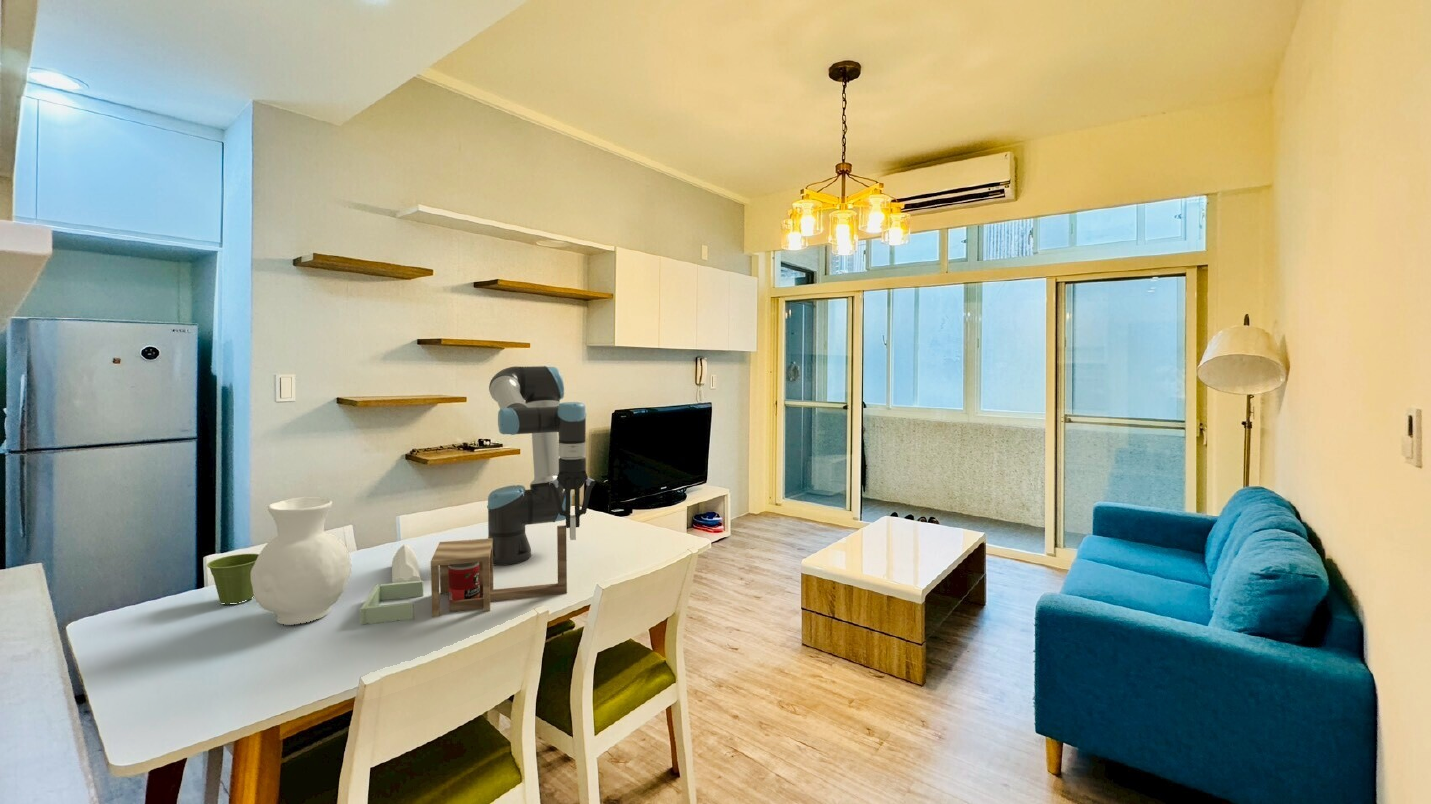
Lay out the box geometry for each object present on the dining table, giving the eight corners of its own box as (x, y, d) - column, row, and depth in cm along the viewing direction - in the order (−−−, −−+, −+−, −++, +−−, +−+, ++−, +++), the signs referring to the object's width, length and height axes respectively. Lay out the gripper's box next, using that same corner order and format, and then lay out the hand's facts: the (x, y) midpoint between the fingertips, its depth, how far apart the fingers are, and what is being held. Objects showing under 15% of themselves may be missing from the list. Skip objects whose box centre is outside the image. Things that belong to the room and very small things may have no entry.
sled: (455, 594, 171) (453, 528, 170) (565, 583, 180) (564, 520, 178) (450, 611, 160) (448, 541, 158) (567, 599, 169) (567, 532, 167)
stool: (441, 592, 172) (439, 542, 171) (493, 587, 176) (492, 538, 175) (432, 617, 156) (430, 561, 155) (490, 610, 161) (488, 556, 159)
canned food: (469, 608, 162) (468, 568, 161) (442, 605, 163) (441, 566, 162) (485, 597, 169) (485, 559, 168) (460, 594, 171) (459, 556, 170)
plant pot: (274, 596, 168) (272, 556, 167) (224, 613, 157) (222, 570, 156) (249, 589, 173) (247, 550, 172) (199, 604, 162) (197, 563, 161)
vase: (310, 638, 144) (304, 514, 142) (234, 630, 148) (227, 509, 145) (368, 606, 162) (364, 496, 160) (299, 599, 166) (294, 491, 164)
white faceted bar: (384, 554, 192) (384, 580, 171) (406, 541, 195) (408, 564, 174) (398, 572, 194) (400, 600, 173) (419, 558, 197) (423, 584, 176)
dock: (376, 598, 167) (376, 584, 167) (423, 594, 171) (423, 580, 170) (360, 624, 152) (360, 609, 151) (412, 619, 155) (412, 603, 155)
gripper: (548, 460, 166) (549, 544, 168) (597, 458, 170) (597, 540, 172) (547, 455, 173) (548, 536, 175) (594, 453, 177) (594, 533, 179)
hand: (572, 538), depth 174 cm, fingers closed
